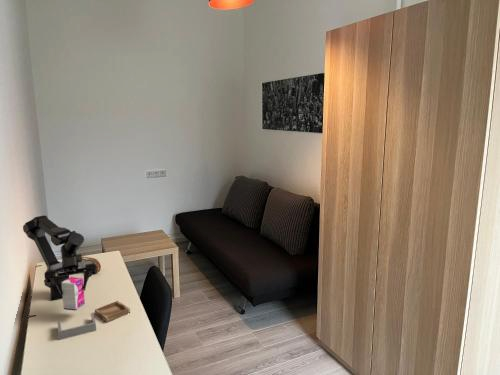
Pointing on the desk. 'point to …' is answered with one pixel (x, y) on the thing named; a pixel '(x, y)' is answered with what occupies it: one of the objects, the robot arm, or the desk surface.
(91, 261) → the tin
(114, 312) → the tray
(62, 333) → the stall
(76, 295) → the supplement box
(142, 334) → the desk surface
